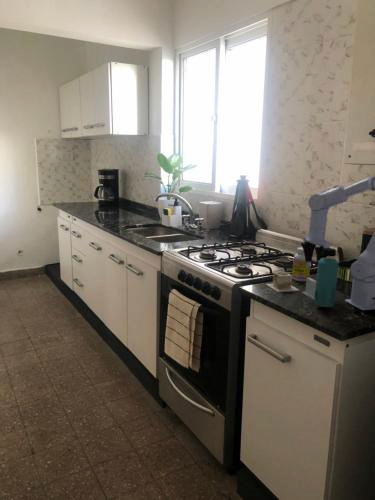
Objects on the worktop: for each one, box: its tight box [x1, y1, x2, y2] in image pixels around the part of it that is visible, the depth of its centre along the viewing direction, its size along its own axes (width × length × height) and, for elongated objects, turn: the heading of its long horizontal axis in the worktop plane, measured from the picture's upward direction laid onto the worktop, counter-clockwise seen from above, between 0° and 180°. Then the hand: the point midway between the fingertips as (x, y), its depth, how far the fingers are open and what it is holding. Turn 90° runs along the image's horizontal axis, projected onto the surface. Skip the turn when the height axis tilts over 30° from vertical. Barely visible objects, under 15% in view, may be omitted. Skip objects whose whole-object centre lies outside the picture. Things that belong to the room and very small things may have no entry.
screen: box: [302, 277, 316, 302], centre depth 148 cm, size 8×3×6 cm, turn 16°
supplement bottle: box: [291, 246, 312, 282], centre depth 168 cm, size 7×7×13 cm
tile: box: [265, 283, 300, 293], centre depth 158 cm, size 9×9×1 cm
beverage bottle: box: [313, 247, 339, 308], centre depth 135 cm, size 6×7×20 cm
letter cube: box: [272, 271, 293, 289], centre depth 157 cm, size 5×5×5 cm
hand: (313, 263), depth 155 cm, fingers open, 7 cm apart
